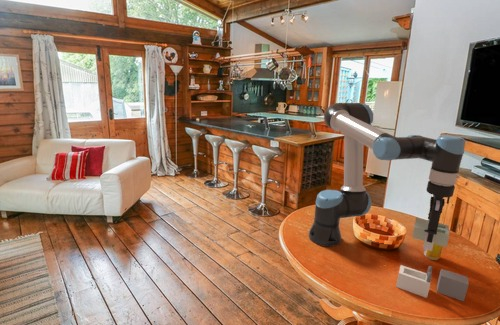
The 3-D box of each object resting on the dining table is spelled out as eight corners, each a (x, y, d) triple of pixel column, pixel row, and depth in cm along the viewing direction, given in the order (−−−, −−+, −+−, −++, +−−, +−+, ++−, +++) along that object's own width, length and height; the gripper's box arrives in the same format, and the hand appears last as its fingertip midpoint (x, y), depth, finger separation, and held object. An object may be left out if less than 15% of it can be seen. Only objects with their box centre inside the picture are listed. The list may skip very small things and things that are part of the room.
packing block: (437, 292, 105) (441, 275, 103) (437, 284, 109) (441, 268, 107) (463, 301, 100) (468, 284, 99) (462, 293, 105) (467, 276, 103)
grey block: (412, 237, 99) (414, 227, 98) (413, 227, 106) (416, 217, 105) (446, 247, 93) (449, 236, 92) (446, 235, 101) (448, 225, 100)
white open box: (395, 286, 107) (400, 264, 104) (397, 278, 111) (402, 256, 109) (426, 298, 101) (432, 275, 99) (427, 288, 106) (432, 266, 104)
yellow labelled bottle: (441, 261, 123) (449, 230, 119) (426, 259, 124) (433, 228, 120) (436, 254, 129) (443, 223, 125) (421, 252, 130) (428, 222, 126)
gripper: (457, 195, 84) (440, 262, 90) (453, 176, 101) (440, 233, 107) (427, 189, 87) (413, 253, 93) (429, 172, 105) (417, 227, 111)
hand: (427, 243), depth 100 cm, fingers closed on grey block, 9 cm apart
